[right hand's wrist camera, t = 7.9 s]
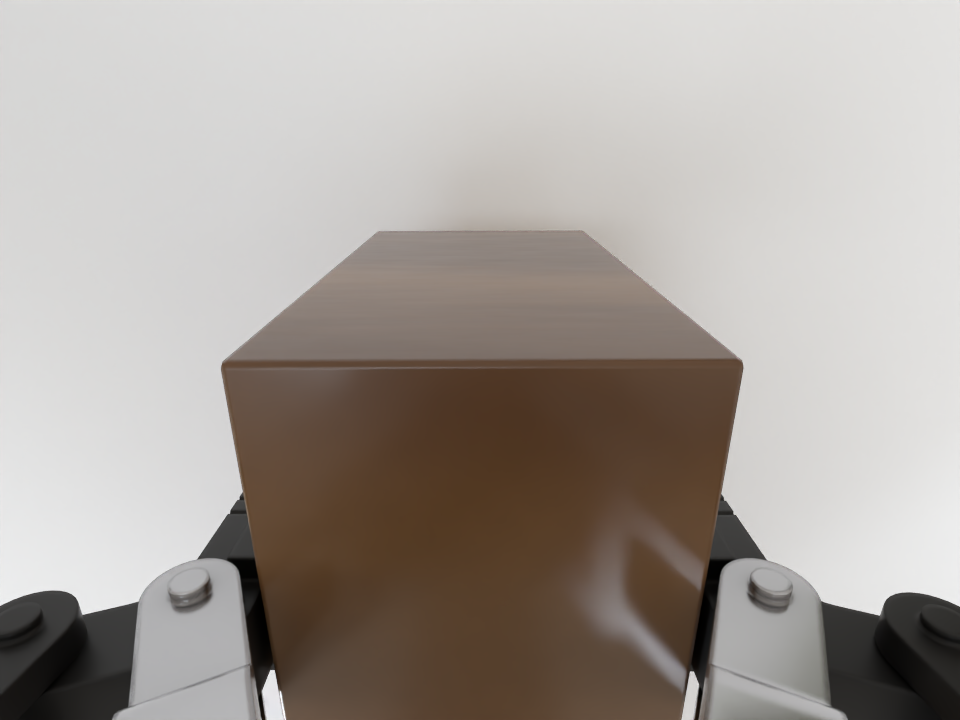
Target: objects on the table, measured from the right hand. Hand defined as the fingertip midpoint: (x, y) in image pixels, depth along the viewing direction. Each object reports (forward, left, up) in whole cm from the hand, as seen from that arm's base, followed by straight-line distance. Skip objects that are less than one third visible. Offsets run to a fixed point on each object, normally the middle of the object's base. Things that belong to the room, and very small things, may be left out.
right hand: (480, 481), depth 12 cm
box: (+9, 0, -7) cm, 11 cm away
